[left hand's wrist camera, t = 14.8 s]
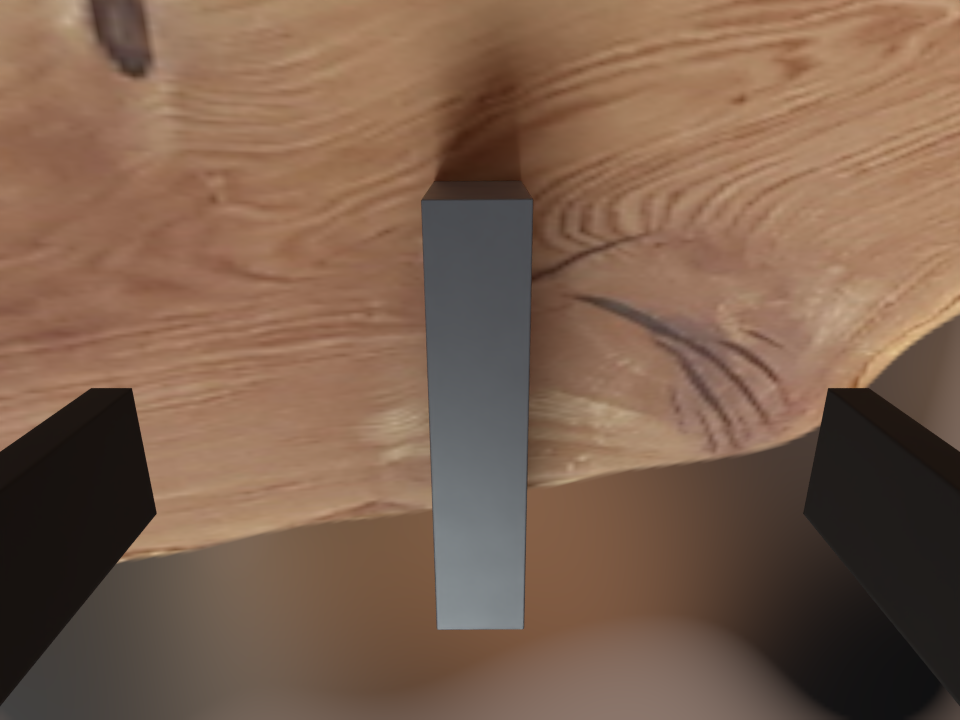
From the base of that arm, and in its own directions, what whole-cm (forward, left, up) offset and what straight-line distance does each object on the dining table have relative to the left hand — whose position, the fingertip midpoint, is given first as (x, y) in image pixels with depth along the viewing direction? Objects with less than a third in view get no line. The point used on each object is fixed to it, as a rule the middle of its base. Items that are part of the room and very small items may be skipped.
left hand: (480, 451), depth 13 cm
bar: (+7, -4, -24) cm, 26 cm away
